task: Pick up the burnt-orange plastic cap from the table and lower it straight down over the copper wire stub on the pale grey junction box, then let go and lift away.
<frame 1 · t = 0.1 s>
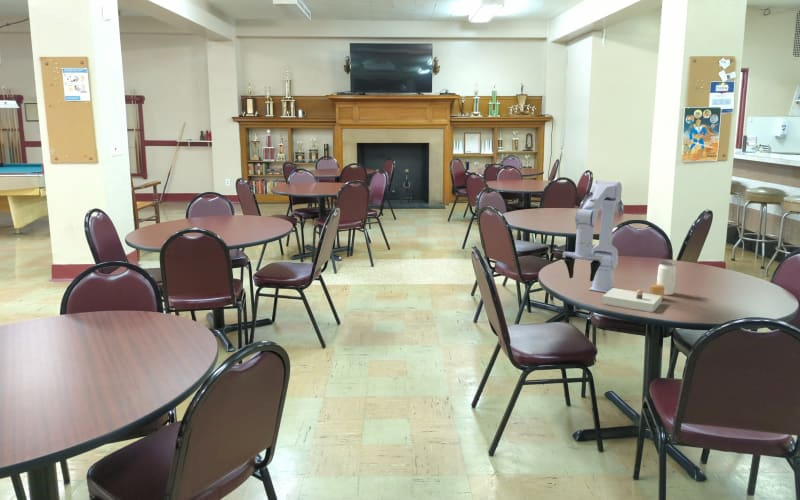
hand: (581, 279, 229), 10 cm above the table, tool pointing down, fingers open, 7 cm apart
junction box: (631, 303, 235), on the table
can: (664, 293, 250), on the table
cap: (656, 298, 242), on the table
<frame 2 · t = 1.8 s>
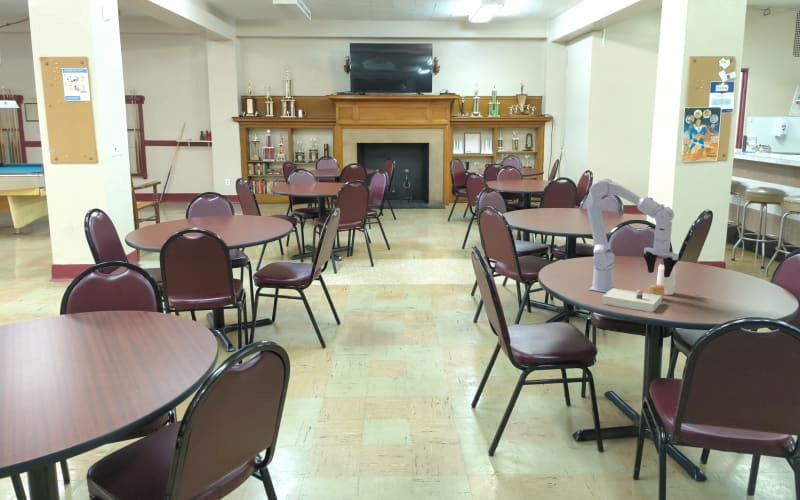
hand: (658, 274, 240), 9 cm above the table, tool pointing down, fingers open, 7 cm apart
nothing on the table moved.
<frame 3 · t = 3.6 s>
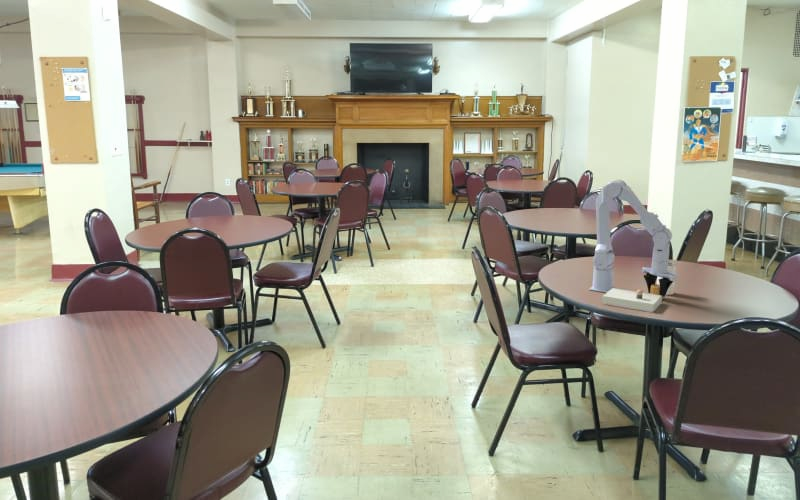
hand: (656, 294, 242), 1 cm above the table, tool pointing down, fingers closed on cap, 5 cm apart
cap: (656, 298, 242), on the table, touching gripper
everything else where it was.
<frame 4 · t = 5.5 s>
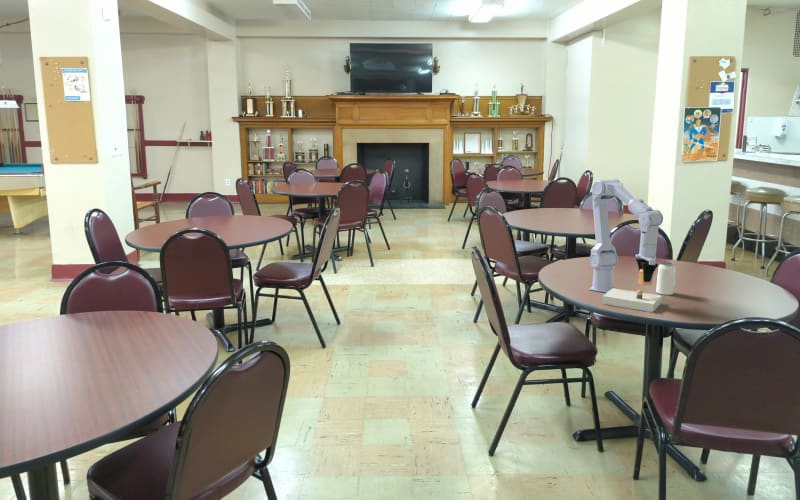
hand: (644, 279, 232), 9 cm above the table, tool pointing down, fingers closed on cap, 5 cm apart
cap: (645, 283, 232), point 8 cm above the table, touching gripper
everything else where it was.
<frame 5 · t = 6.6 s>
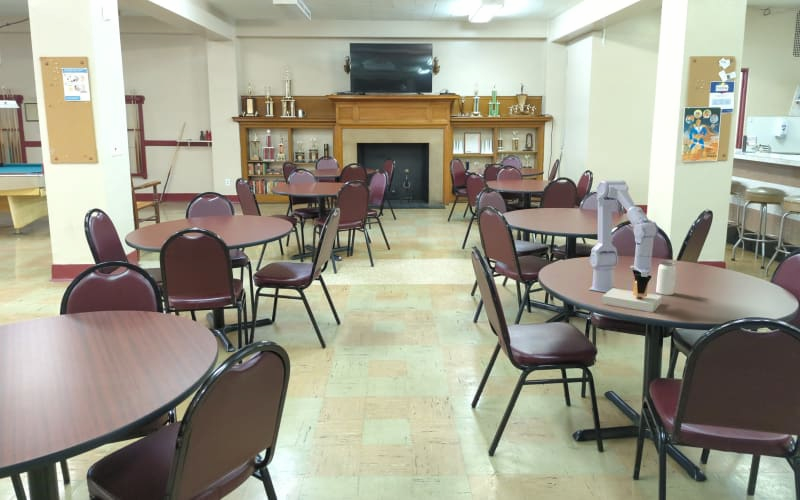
hand: (639, 291, 231), 6 cm above the table, tool pointing down, fingers closed on cap, 5 cm apart
cap: (640, 295, 231), point 4 cm above the table, touching gripper
everything else where it was.
when the fingers open (6 cm above the table, at t = 7.4 s): cap drops 1 cm, resting on junction box.
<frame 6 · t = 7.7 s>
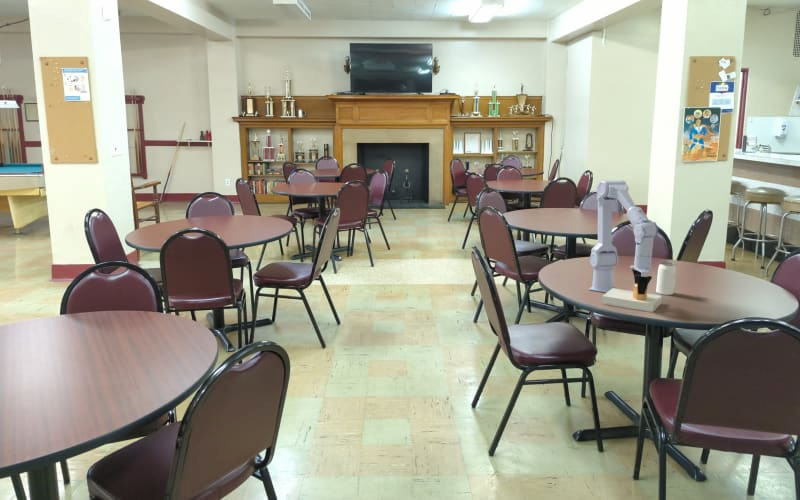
hand: (639, 291, 231), 6 cm above the table, tool pointing down, fingers open, 7 cm apart
cap: (639, 298, 231), point 3 cm above the table, touching junction box
everything else where it was.
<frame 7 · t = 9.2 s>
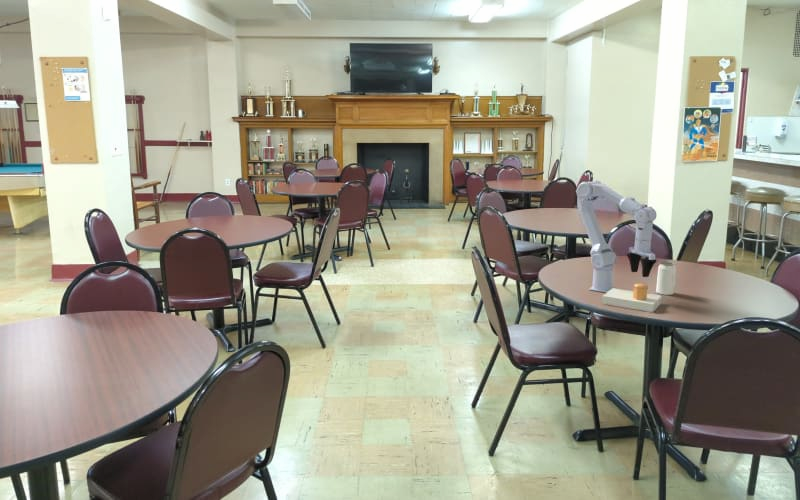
hand: (639, 274, 240), 9 cm above the table, tool pointing down, fingers open, 7 cm apart
nothing on the table moved.
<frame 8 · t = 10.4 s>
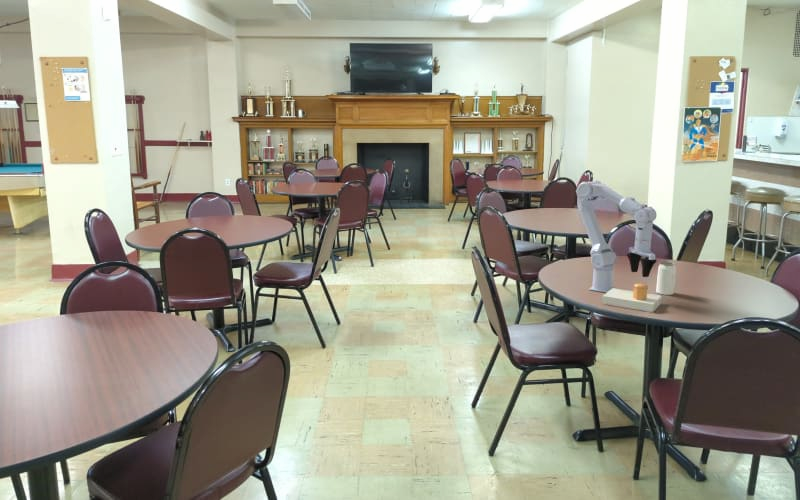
hand: (639, 274, 240), 9 cm above the table, tool pointing down, fingers open, 7 cm apart
nothing on the table moved.
at the end: cap 0.2 cm from the target spot on the junction box, point 3.0 cm above the junction box's base; cap tilted 0°; the gripper is holding nothing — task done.
